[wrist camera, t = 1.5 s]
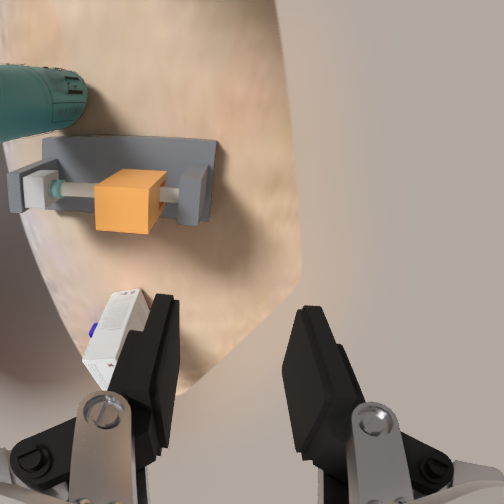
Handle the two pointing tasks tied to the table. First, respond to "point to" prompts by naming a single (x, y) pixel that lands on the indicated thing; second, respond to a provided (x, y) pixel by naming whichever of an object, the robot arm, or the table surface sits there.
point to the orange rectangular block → (129, 201)
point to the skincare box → (114, 333)
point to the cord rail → (110, 162)
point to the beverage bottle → (38, 100)
